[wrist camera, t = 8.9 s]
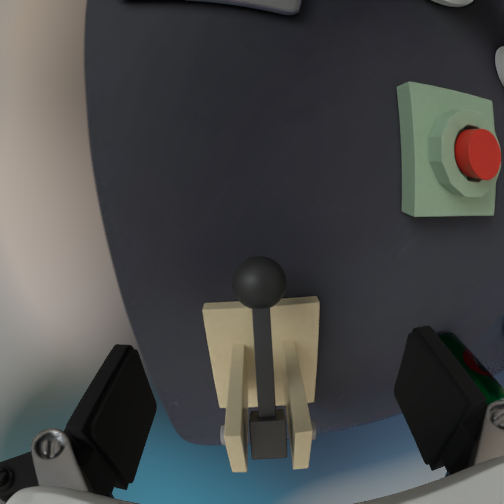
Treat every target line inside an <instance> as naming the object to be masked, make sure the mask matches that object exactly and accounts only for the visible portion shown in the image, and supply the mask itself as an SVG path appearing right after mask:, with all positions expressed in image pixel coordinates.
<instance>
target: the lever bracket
mask: <svg viewBox="0 0 504 504" xmlns="http://www.w3.org/2000/svg"><path fill="white" fill-rule="evenodd" d="M319 310H320V302H319V300H318V298H317V296H310V297H297V298H284V299H281V300H280V301H279V302H278V303H277V304H276V305H275V306H273V307H271V308H270V316H271V332H272V349H273V366H274V384H275V403H276V406H280V405H286V412H287V420H288V429H289V437H290V446H291V454H292V463H293V469H301V468H308V465H309V458H310V449H311V441H312V440H315V438H316V426H315V422H314V420H310V415H309V410H308V405H307V403H311V402H314V397H315V384H316V370H317V354H318V335H319ZM202 311H203V318H204V324H205V330H206V336H207V342H208V348H209V353H210V359H211V365H212V370H213V375H214V381H215V386H216V391H217V396H218V401H219V406H220V408H226V417H225V425H222V426H221V432H220V436H221V443H222V445H226V448H227V452H228V456H229V460H230V465H231V469H232V471H233V472H247V454H248V453H247V452H248V407H258V401H257V385H256V368H255V352H254V335H253V318H252V309H250V308H248V307H246V306H244V305H243V304H242V303H241V302H240V301H236V302H216V303H204V306H203V309H202Z"/></svg>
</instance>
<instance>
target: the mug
mask: <svg viewBox="0 0 504 504" xmlns="http://www.w3.org/2000/svg"><path fill="white" fill-rule="evenodd" d="M495 65H496V70H497V73H498V76H499V79H500V81H501V83H502V85H503V87H504V46H502V47H500V48H498V50H497V51H496V54H495Z"/></svg>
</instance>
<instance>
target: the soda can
mask: <svg viewBox="0 0 504 504" xmlns="http://www.w3.org/2000/svg"><path fill="white" fill-rule="evenodd" d="M438 336H439V338H440V339H441V340H442V341H443V342H444V344H445V345H446V346H447V347H448V349H449V350H450V351H451V352H452V354H453V355H454V356H455V357H456V359H457V360H458V361H459V362H460V364H461V365H462V366H463V368H464V369H465V370H466V372H467V373H468V374H469V375H470V377H471V378H472V379H473V381H474V382H475V383H476V385H477V386H478V388H479V389H480V390H481V392H482V393H483V394H484V396H485V397H486V399H487V400H486V403H487V404H488V406H489V404H490V403H492V402H494V401H497V400H504V389H503V387H502V386H501V385H500V384H499V383H498V381H497V380H496V379H495V378H494V377H493V376H492V375H491V373H490V372H489V371H488V370H487V369H486V368H485V367H484V366H483V364H482V363H481V362H480V361H479V360H478V359H477V358H476V357H475V356H474V355H473V353H472V352H471V351H470V350H469V349H468V348H467V347H466V346H465V345H464V344H463V343H462V342H461V341H460V340H459V339H458V338H457V336H456V335H454V334H452V333H444V334H440V335H438Z"/></svg>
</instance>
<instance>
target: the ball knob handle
mask: <svg viewBox="0 0 504 504" xmlns="http://www.w3.org/2000/svg"><path fill="white" fill-rule="evenodd" d="M232 285H233V290H234V293H235V296H236V297H237V299H238V300H239V301H240V302H241V303H242V304H243V305H244V306H246V307H248V308H250V309H252V318H253V335H254V352H255V368H256V385H257V401H258V411H251V414H250V421H249V426H250V440H251V454H252V459H271V458H272V459H273V458H286V457H287V436H286V419H285V415H284V410H283V409H279V410H276V403H275V384H274V366H273V349H272V332H271V316H270V308H271V307H273V306H275V305H276V304H277V303H278V302H279V301H280V300H281V299H282V297H283V295H284V293H285V290H286V276H285V273H284V271H283V269H282V268H281V266H280V265H279V264H278V263H277V262H275V261H274V260H272V259H270V258H267V257H262V256H256V257H252V258H249V259H247V260H245V261H244V262H242V263H241V264H240V265H239V266H238V268H237V269H236V271H235V273H234V276H233V283H232Z"/></svg>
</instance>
